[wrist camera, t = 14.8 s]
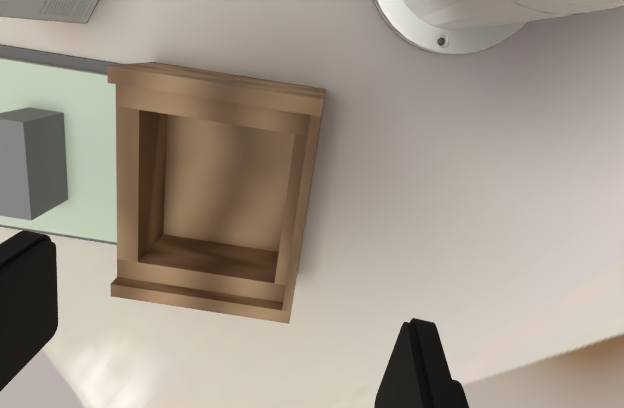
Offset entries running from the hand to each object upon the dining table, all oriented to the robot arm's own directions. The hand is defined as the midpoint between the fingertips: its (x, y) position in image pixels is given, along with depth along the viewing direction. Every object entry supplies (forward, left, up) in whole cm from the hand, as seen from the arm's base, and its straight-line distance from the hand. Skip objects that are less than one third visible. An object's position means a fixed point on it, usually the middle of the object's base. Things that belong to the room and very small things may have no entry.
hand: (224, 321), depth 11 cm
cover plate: (+4, -19, -23) cm, 30 cm away
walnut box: (+4, -5, -24) cm, 24 cm away
